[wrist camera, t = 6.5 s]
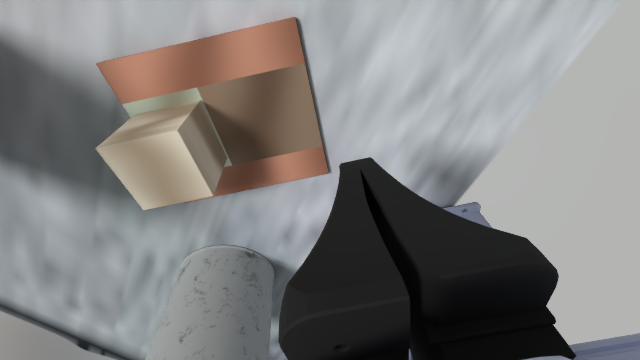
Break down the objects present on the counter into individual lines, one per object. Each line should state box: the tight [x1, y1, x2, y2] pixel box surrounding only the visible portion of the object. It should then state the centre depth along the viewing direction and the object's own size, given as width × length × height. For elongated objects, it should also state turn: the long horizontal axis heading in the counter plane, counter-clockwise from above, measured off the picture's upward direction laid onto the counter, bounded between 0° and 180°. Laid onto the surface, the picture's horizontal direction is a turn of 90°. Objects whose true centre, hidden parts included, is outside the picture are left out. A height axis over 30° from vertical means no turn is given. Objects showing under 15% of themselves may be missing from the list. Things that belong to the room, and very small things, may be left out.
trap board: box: [96, 17, 328, 203], centre depth 19 cm, size 12×11×1 cm
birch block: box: [95, 100, 227, 210], centre depth 18 cm, size 4×4×4 cm
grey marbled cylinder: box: [146, 245, 275, 360], centre depth 24 cm, size 10×10×12 cm
